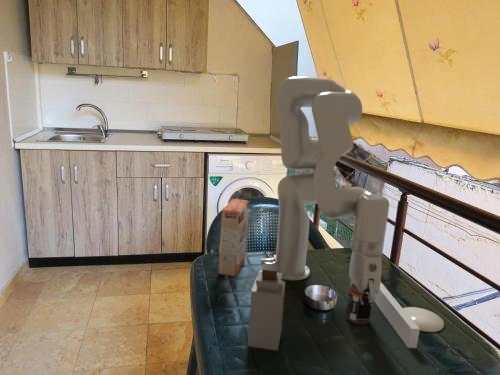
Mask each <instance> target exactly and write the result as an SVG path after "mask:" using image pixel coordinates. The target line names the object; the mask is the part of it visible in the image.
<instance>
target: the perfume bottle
mask: <svg viewBox="0 0 500 375" xmlns="http://www.w3.org/2000/svg"><path fill="white" fill-rule="evenodd" d="M277 271H278V265H271V264H262V268H261V270H258V274H257V276H256V277H255V280H254V283H253V286H252V288H251V291H250V305H249V307H250V309H249V323H248V336H247V337H248V339H247V346H248V347H252V348H260V349H265V350H271V351H279V346H280V341H281V336H282V327H283V326H282V325H283V315H284V314H283V313H284V301H285V290H286V280H285V281H284V280H283V279H282V275H283V273H277Z"/></svg>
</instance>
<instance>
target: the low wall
mask: <svg viewBox="0 0 500 375" xmlns="http://www.w3.org/2000/svg"><path fill="white" fill-rule="evenodd" d="M375 295H376V300H375V301H373V303H375V305H376V306H377V307H378V309H379V310H380V311H381V313H382V314H383V315H384V317H385V318H386V320H387V321H388V322H389V324H390V325H391V327H392V328H393V329H394V331H395V332H396V333H397V335H398V336H399V337H400V339H401V341H402V342H403V343H404V345H405V346H406V347H407V349H417V348H418V344H419V343H418V341H419V336H420V328H419V327H418V326H417V325H416V324H415V322H414V321H413V320H412V319H411V318H410V316H409V315H408V314H407V313H406V312H405V310H404V309H403V308H404V307H402V306H401V305H400V303H399V302H398V301H397V300H396V298H395V297H394V296H393V295H392V294H391V292H390V291H389V290H388V289H387V287H386V286H385V285H384V284H383V283H382V282H380V291H379V293H378V294H376V293H375Z"/></svg>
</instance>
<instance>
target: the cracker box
mask: <svg viewBox="0 0 500 375" xmlns="http://www.w3.org/2000/svg"><path fill="white" fill-rule="evenodd" d="M249 206H250V201H249V200H245V199H239V198H238V199H236V198H232V199H231V200H230V201H229V202H228V203H227V205H225V206H224V207H223V208H222V209H221V219H220V220H221V221H220V223H221V224H220V235H219V238H220V240H219V253H218V255H219V256H218V257H219V258H218V270H217V271H218V274H219V275H223V276H229V277H230V276H231V277H236V276H237V274H238V272H239V271H240V269H241V267H242V265H243V264H244V262H245V260H246V248H247V236H248V234H247V233H248V223H249V222H248V221H249V219H248V218H249V210H250V209H249Z"/></svg>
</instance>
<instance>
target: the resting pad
mask: <svg viewBox="0 0 500 375" xmlns="http://www.w3.org/2000/svg"><path fill="white" fill-rule="evenodd" d="M402 308H403V309H404V310H405V312H406V313H407V314H408V315H409V316H410V318H411V319H412V320H413V321H414V322H415V324H416V325H417V326H418V327H419V328H420V331H421V332H425V333H426V332H428V333H436V332H440V331H442V330H443V329H444V326H445V322H444V320H443V319H442V318H441V317H440V316H439V315H438V314H436V313H434V312H432V311H430V310H428V309H426V308H425V309H424V308H422V307H421V308H420V307H416V306H415V307H414V306H407V307H406V306H405V307H402ZM420 331H419V332H420Z"/></svg>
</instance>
